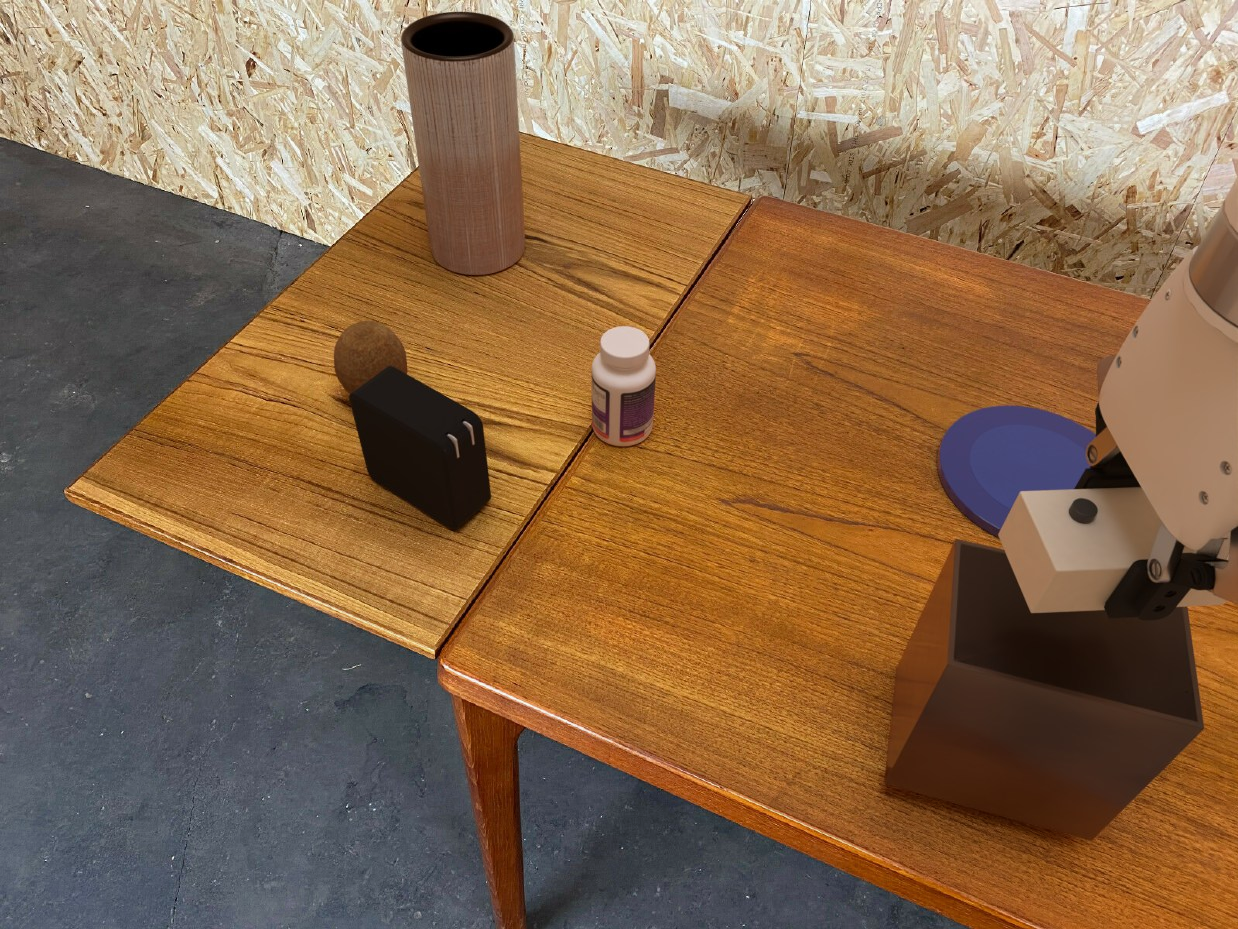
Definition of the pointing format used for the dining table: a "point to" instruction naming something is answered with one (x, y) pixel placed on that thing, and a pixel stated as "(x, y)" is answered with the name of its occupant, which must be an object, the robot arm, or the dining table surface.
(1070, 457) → the plate
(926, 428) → the dining table surface
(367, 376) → the fruit
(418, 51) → the planter
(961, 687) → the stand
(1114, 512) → the controller
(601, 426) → the pill bottle
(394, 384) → the electronic device
